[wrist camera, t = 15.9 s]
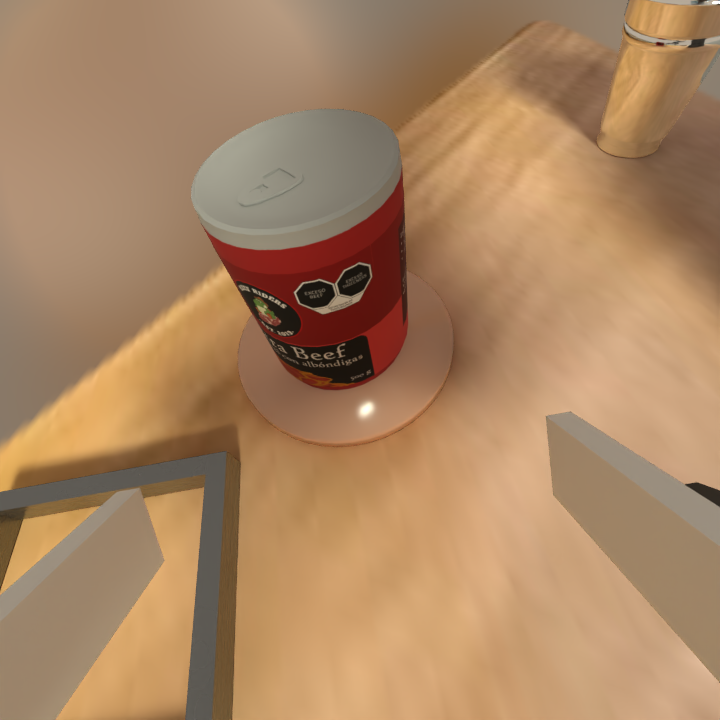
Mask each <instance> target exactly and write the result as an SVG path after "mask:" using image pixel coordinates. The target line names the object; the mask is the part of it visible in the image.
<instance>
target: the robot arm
mask: <svg viewBox="0 0 720 720" xmlns="http://www.w3.org/2000/svg"><path fill="white" fill-rule="evenodd" d="M546 423H547V434H548V444H549V455H550V466H551V476H552V487H553V495H554V496H555V497H556V499H557V500H558V501H559V502H560V503H561V504H562V505H563V507H564V508H565V509H566V510H567V511H568V512H569V513H570V514H571V516H572V517H573V518H574V519H575V520H576V521H577V522H578V523H579V525H580V526H581V527H582V528H583V529H584V530H585V531H586V532H587V534H588V535H589V536H590V537H591V538H592V539H593V540H594V541H595V543H596V544H597V545H598V546H599V547H600V548H601V549H602V550H603V552H604V553H605V554H606V555H607V556H608V557H609V558H610V559H611V561H612V562H613V563H614V564H615V565H616V566H617V567H618V568H619V570H620V571H621V572H622V573H623V574H624V575H625V576H626V578H627V579H628V580H629V581H630V582H631V583H632V584H633V585H634V587H635V588H636V589H637V590H638V591H639V592H640V593H641V594H642V596H643V597H644V598H645V599H646V600H647V601H648V602H649V603H650V605H651V606H652V607H653V608H654V609H655V610H656V611H657V612H658V614H659V615H660V616H661V617H662V618H663V619H664V620H665V621H666V623H667V624H668V625H669V626H670V627H671V628H672V629H673V630H674V632H675V633H676V634H677V635H678V636H679V637H680V638H681V640H682V641H683V642H684V643H685V644H686V645H687V646H688V647H689V649H690V650H691V651H692V652H693V653H694V654H695V655H696V656H697V658H698V659H699V660H700V661H701V662H702V663H703V664H704V665H705V667H706V668H707V669H708V670H709V671H710V672H711V673H712V674H713V676H714V677H715V678H716V679H717V680H718V681H719V682H720V490H717V489H714V488H711V487H708V486H706V485H703V484H700V483H691V484H685V485H684V484H683V483H681V482H680V481H678V480H677V479H675V478H673V477H672V476H670V475H669V474H667V473H666V472H664V471H662V470H661V469H659V468H658V467H656V466H655V465H653V464H652V463H650V462H648V461H647V460H645V459H644V458H642V457H641V456H639V455H637V454H636V453H634V452H633V451H631V450H630V449H628V448H627V447H625V446H623V445H622V444H620V443H619V442H617V441H616V440H614V439H612V438H611V437H609V436H608V435H606V434H605V433H603V432H602V431H600V430H598V429H597V428H595V427H594V426H592V425H591V424H589V423H587V422H586V421H584V420H583V419H581V418H580V417H578V416H577V415H575V414H573V413H572V412H566V413H560V414H555V415H549V416H546ZM163 562H164V558H163V555H162V552H161V549H160V546H159V543H158V540H157V537H156V534H155V531H154V528H153V525H152V522H151V519H150V516H149V513H148V510H147V508H146V505H145V502H144V499H143V496H142V493H141V490H140V488H136V489H130V490H124V491H119V492H116V493H115V494H114V495H113V496H112V497H111V498H110V499H108V500H107V501H106V502H105V503H104V504H103V505H102V506H100V507H99V508H98V509H97V510H96V511H95V512H94V513H93V514H91V515H90V516H89V517H88V518H87V519H86V520H85V521H84V522H82V523H81V524H80V525H79V526H78V527H77V528H76V529H75V530H73V531H72V532H71V533H70V534H69V535H68V536H67V537H66V538H64V539H63V540H62V541H61V542H60V543H59V544H58V545H57V546H55V547H54V548H53V549H52V550H51V551H50V552H49V553H48V554H46V555H45V556H44V557H43V558H42V559H41V560H40V561H39V562H37V563H36V564H35V565H34V566H33V567H32V568H31V569H30V570H28V571H27V572H26V573H25V574H24V575H23V576H22V577H20V578H19V579H18V580H17V581H16V582H15V583H14V584H13V585H11V586H10V587H9V588H8V589H7V590H6V591H5V592H4V593H2V594H1V595H0V720H55V719H56V718H57V716H58V715H59V713H60V712H61V711H62V709H63V708H64V706H65V705H66V703H67V702H68V700H69V699H70V697H71V696H72V695H73V693H74V692H75V690H76V689H77V687H78V686H79V684H80V683H81V681H82V680H83V679H84V677H85V676H86V674H87V673H88V671H89V670H90V668H91V667H92V665H93V664H94V662H95V661H96V660H97V658H98V657H99V655H100V654H101V652H102V651H103V649H104V648H105V646H106V645H107V644H108V642H109V641H110V639H111V638H112V636H113V635H114V633H115V632H116V630H117V629H118V628H119V626H120V625H121V623H122V622H123V620H124V619H125V617H126V616H127V614H128V613H129V612H130V610H131V609H132V607H133V606H134V604H135V603H136V601H137V600H138V598H139V597H140V596H141V594H142V593H143V591H144V590H145V588H146V587H147V585H148V584H149V582H150V581H151V579H152V578H153V577H154V575H155V574H156V572H157V571H158V569H159V568H160V566H161V565H162V563H163Z"/></svg>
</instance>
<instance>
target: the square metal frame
mask: <svg viewBox="0 0 720 720" xmlns="http://www.w3.org/2000/svg"><path fill="white" fill-rule="evenodd" d="M202 487H204V500H203V512H202V524H201V536H200V548H199V560H198V572H197V584H196V597H195V609H194V621H193V633H192V645H191V657H190V669H189V681H188V694H187V706H186V718H185V720H232V697H233V667H234V637H235V608H236V578H237V548H238V518H239V488H240V462H239V461H238V460H237V459H236V458H234V457H233V456H232V455H231V454H230V453H228V452H227V451H224V452H219V453H213V454H208V455H202V456H197V457H191V458H186V459H180V460H174V461H169V462H163V463H158V464H152V465H147V466H141V467H136V468H130V469H125V470H119V471H113V472H108V473H102V474H97V475H91V476H86V477H80V478H75V479H69V480H64V481H58V482H53V483H47V484H41V485H36V486H30V487H25V488H19V489H14V490H8V491H3V492H0V587H1V584H2V581H3V578H4V575H5V572H6V569H7V566H8V563H9V559H10V556H11V553H12V550H13V547H14V544H15V541H16V538H17V535H18V532H19V528H20V525H21V522H22V519H27V518H33V517H38V516H44V515H50V514H55V513H61V512H66V511H72V510H78V509H83V508H89V507H95V506H100V505H103V504H104V503H105V502H106V501H107V500H108V499H110V498H111V497H112V496H113V495H114V494H115V493H116V492H119V491H124V490H130V489H136V488H140V490H141V493H142V496H143V498H145V497H151V496H157V495H162V494H168V493H173V492H179V491H185V490H190V489H196V488H202Z"/></svg>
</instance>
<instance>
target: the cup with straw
mask: <svg viewBox="0 0 720 720" xmlns="http://www.w3.org/2000/svg"><path fill="white" fill-rule="evenodd" d="M624 15H625V21H624V25H623V29H622V35H623V38H622V42H621V46H620V50H619V53H618V57H617V61H616V65H615V69H614V73H613V77H612V81H611V85H610V88H609V92H608V96H607V100H606V104H605V108H604V112H603V116H602V120H601V123H600V128H601V129H600V130H601V131H600V133H599V135H598V136H597V139H596V142H597V145H598V146H599V147H600V149H602V150H603V151H605V152H606V153H608V154H611V155H614V156H618V157H624V158H639V157H644V156H647V155H650V154H652V153H654V152H655V151H657V150H658V148H659V146H660V142H661V140H662V139H663V138H664V137H665V136H667V134H668V133H669V131H670V130H671V128H672V127H673V125H674V124H675V122H676V121H677V119H678V118H679V116H680V115H681V113H682V112H683V110H684V109H685V107H686V106H687V104H688V103H689V101H690V100H691V98H692V97H693V95H694V94H695V92H696V90H697V89H698V87H699V86H700V84H701V83H702V81H703V80H704V78H705V77H706V75H707V74H708V72H709V71H710V69H711V68H712V66H713V65H714V63H715V62H716V60H717V59H718V57H719V56H720V0H628V3H627V7H626V11H625V14H624Z"/></svg>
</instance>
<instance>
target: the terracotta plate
mask: <svg viewBox="0 0 720 720" xmlns="http://www.w3.org/2000/svg"><path fill="white" fill-rule="evenodd" d="M406 272H407V302H408V330H407V336H406V338H405V341H404V344H403V346H402V348H401V351H400V353H399V354H398V356H397V357H396V359H395V360H394V362H393V363H392V364H391V365H390V366H389V367H388V368H387V370H386V371H385V372H383V373H382V374H380V375H379V376H378V377H376V378H375V379H373V380H371V381H369V382H367V383H365V384H363V385H360V386H357V387H354V388H351V389H344V390H323V389H319V388H315V387H312V386H310V385H308V384H306V383H303V382H302V381H300V380H298V379H296V378H295V377H294V376H293V375H291V374H290V373H289V372H288V371H287V370H286V369H285V368H284V366H283V365H282V364H281V362H280V361H279V359H278V357H277V356H276V354H275V352H274V350H273V349H272V347H271V345H270V343H269V342H268V340H267V338H266V337H265V335H264V333H263V331H262V330H261V328H260V326H259V325H258V323H257V321H256V319H255V318H254V316H253V314H252V315H251V317H250V318H249V320H248V322H247V324H246V326H245V328H244V330H243V334H242V337H241V340H240V344H239V350H238V369H239V376H240V379H241V382H242V386H243V388H244V390H245V392H246V394H247V396H248V398H249V399H250V401H251V402H252V403H253V405H254V406H255V407H256V409H257V410H258V411H259V412H260V414H261V415H262V416H263V417H264V418H265V419H266V420H267V421H268V422H269V423H270V424H271V425H273V426H274V427H276V428H277V429H278V430H280V431H281V432H283V433H285V434H287V435H289V436H291V437H293V438H295V439H298V440H300V441H303V442H306V443H310V444H315V445H321V446H333V447H343V446H355V445H360V444H365V443H370V442H373V441H376V440H379V439H382V438H385V437H387V436H389V435H391V434H393V433H396V432H398V431H400V430H401V429H403V428H404V427H406V426H407V425H409V424H410V423H412V422H413V421H414V420H416V419H417V418H418V417H419V416H420V415H421V414H423V413H424V412H425V411H426V410H427V408H428V407H429V406H430V405H431V404H432V403H433V402H434V400H435V399H436V397H437V396H438V394H439V393H440V391H441V390H442V388H443V386H444V383H445V381H446V379H447V377H448V373H449V370H450V367H451V361H452V353H453V346H454V336H453V327H452V322H451V319H450V316H449V313H448V310H447V308H446V307H445V305H444V303H443V301H442V299H441V298H440V297H439V296H438V294H437V293H436V292H435V291H434V290H433V289H432V288H431V287H430V286H429V285H428V284H427V283H426V282H425V281H423V280H422V279H421V278H419V277H418V276H416V275H414V274H413V273H411V272H409V271H407V270H406Z"/></svg>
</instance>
